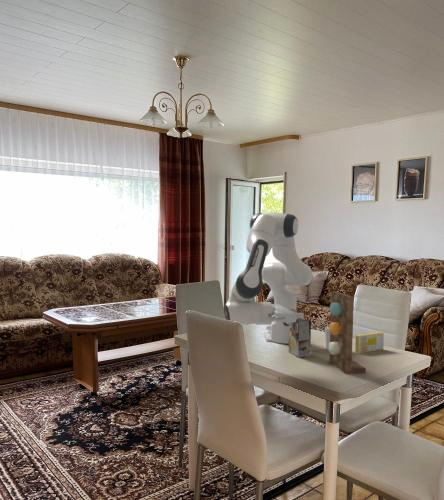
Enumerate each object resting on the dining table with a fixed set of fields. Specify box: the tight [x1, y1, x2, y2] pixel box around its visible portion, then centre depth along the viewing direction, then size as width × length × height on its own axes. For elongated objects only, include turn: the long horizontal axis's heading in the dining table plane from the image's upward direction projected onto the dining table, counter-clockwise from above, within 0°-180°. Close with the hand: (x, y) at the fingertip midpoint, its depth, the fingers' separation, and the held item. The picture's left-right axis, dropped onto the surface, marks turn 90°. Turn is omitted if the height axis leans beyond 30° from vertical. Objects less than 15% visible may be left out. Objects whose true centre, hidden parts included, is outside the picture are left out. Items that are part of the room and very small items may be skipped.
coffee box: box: [288, 317, 312, 358], centre depth 193 cm, size 9×6×16 cm
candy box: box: [354, 331, 385, 354], centre depth 201 cm, size 16×2×8 cm, turn 116°
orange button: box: [328, 321, 342, 335], centre depth 174 cm, size 5×4×5 cm
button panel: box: [328, 290, 367, 375], centre depth 175 cm, size 16×8×30 cm, turn 10°
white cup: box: [324, 326, 341, 351], centre depth 202 cm, size 8×8×10 cm
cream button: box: [328, 342, 341, 355], centre depth 175 cm, size 5×4×5 cm
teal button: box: [329, 302, 343, 315], centre depth 174 cm, size 5×4×5 cm
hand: (299, 313), depth 171 cm, fingers open, 7 cm apart
